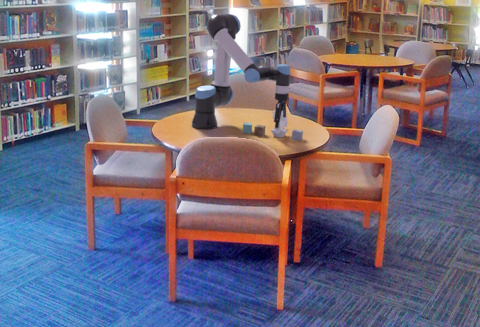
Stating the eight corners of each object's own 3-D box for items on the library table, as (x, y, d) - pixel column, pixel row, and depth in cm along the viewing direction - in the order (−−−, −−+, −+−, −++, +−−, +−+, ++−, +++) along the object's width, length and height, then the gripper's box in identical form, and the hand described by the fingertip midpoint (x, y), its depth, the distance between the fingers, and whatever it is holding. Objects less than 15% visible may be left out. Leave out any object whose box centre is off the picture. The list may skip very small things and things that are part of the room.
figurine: (282, 138, 329) (284, 112, 324) (268, 135, 334) (270, 109, 329) (289, 136, 334) (291, 110, 330) (275, 133, 339) (276, 108, 335)
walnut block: (254, 135, 334) (254, 126, 332) (256, 133, 338) (257, 124, 337) (262, 136, 332) (262, 127, 331) (264, 134, 337) (265, 125, 336)
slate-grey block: (291, 139, 328) (292, 131, 326) (293, 137, 332) (294, 129, 331) (300, 141, 326) (301, 132, 325) (302, 139, 331) (303, 130, 329)
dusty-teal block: (242, 133, 337) (243, 124, 336) (243, 130, 342) (243, 122, 341) (251, 133, 337) (251, 125, 336) (251, 131, 342) (252, 123, 340)
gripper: (283, 96, 315) (280, 136, 322) (293, 90, 336) (290, 127, 343) (269, 95, 317) (267, 134, 324) (280, 88, 338) (278, 126, 345)
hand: (279, 131), depth 333 cm, fingers open, 10 cm apart
